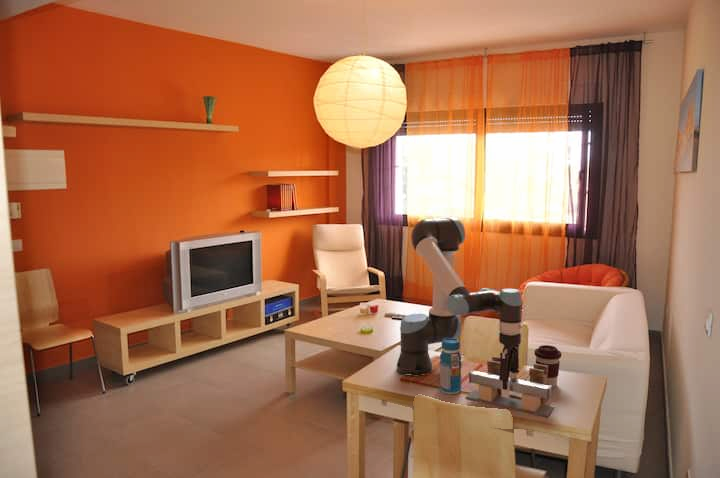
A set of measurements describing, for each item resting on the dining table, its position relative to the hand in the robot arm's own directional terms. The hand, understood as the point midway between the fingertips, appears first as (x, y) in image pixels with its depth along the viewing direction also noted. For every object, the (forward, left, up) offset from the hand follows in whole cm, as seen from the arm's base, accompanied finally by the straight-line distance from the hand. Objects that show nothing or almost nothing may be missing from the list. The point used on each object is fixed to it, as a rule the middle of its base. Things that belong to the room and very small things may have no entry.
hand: (508, 393), depth 201 cm
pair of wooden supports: (0, +9, -4) cm, 10 cm away
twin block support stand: (0, 0, -4) cm, 4 cm away
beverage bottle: (-23, 0, -4) cm, 23 cm away
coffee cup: (+7, +25, -4) cm, 26 cm away
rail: (0, 0, +2) cm, 2 cm away
